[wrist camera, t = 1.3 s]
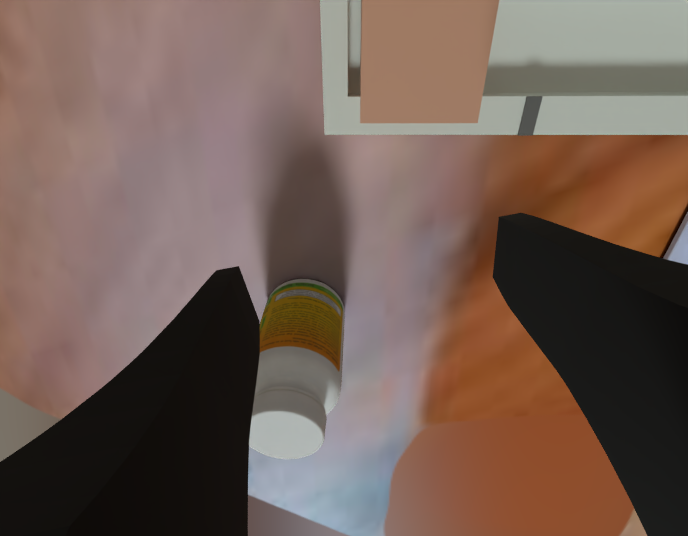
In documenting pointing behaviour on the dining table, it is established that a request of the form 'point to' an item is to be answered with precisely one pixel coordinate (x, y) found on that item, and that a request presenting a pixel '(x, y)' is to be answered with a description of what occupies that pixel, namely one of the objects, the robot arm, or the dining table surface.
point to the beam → (542, 70)
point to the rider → (424, 59)
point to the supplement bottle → (297, 369)
